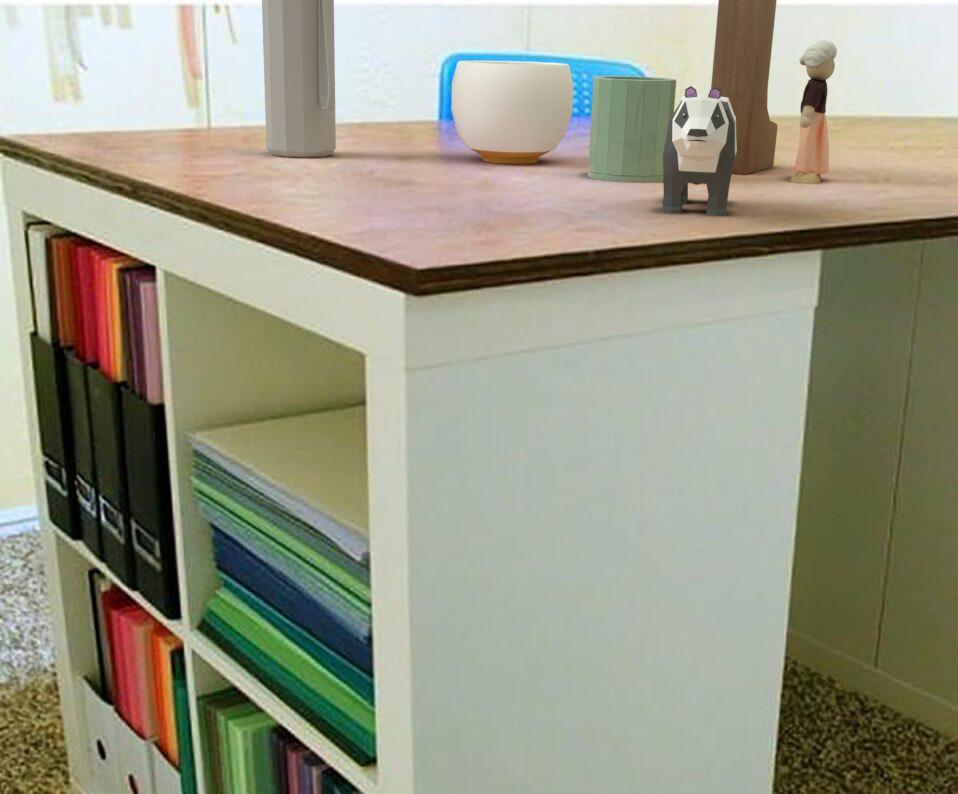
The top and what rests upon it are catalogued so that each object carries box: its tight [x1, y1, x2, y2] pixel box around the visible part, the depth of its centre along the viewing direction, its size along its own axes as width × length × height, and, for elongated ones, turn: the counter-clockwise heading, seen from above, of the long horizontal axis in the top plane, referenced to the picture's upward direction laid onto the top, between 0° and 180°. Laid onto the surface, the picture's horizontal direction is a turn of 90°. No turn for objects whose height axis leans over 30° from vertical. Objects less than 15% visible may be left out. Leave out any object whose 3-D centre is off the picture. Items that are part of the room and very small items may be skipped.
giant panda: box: [661, 85, 737, 217], centre depth 100 cm, size 15×6×10 cm, turn 169°
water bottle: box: [261, 0, 337, 159], centre depth 129 cm, size 9×8×25 cm
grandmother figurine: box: [790, 39, 838, 185], centre depth 122 cm, size 8×4×13 cm, turn 171°
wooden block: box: [710, 0, 779, 176], centre depth 128 cm, size 9×4×18 cm, turn 150°
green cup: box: [587, 75, 677, 183], centre depth 121 cm, size 8×8×9 cm
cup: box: [450, 59, 574, 165], centre depth 132 cm, size 12×12×10 cm
